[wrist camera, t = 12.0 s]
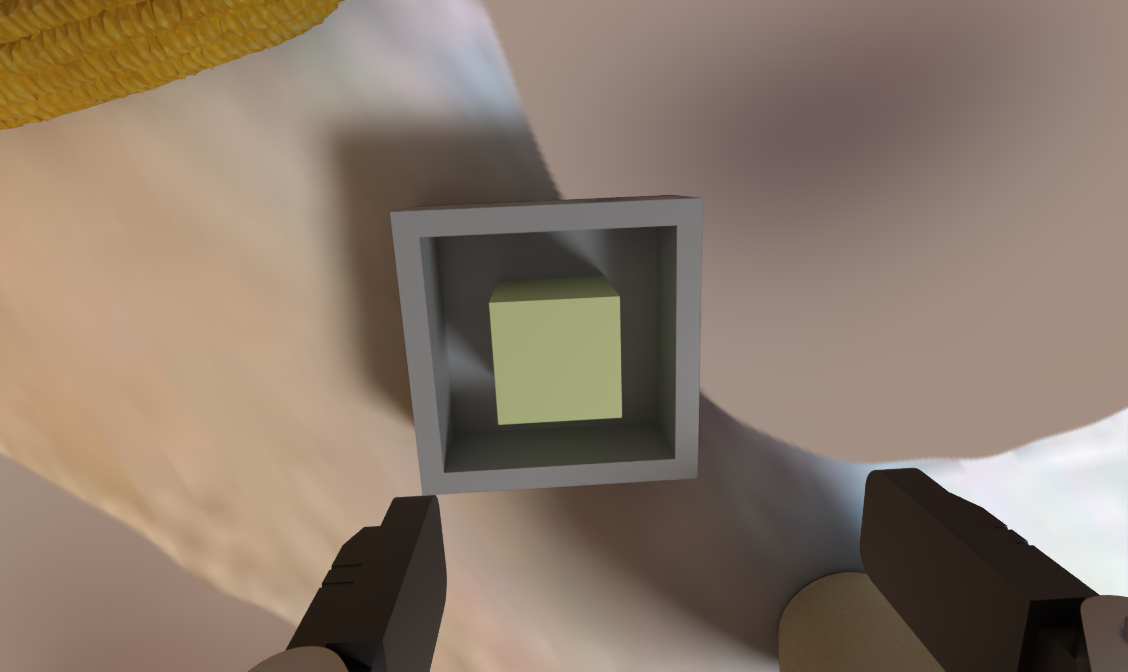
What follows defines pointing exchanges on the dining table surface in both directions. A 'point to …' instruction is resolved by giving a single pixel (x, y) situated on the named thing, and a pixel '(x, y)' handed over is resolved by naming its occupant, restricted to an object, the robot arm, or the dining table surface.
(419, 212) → the bin
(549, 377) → the green block
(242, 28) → the food
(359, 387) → the dining table surface
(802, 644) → the plant pot
